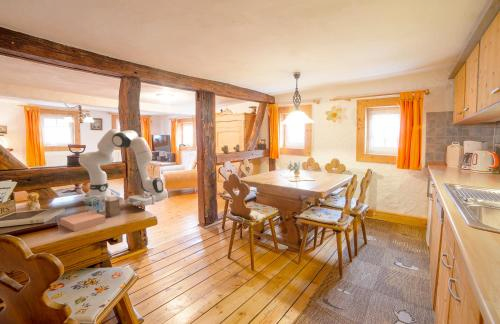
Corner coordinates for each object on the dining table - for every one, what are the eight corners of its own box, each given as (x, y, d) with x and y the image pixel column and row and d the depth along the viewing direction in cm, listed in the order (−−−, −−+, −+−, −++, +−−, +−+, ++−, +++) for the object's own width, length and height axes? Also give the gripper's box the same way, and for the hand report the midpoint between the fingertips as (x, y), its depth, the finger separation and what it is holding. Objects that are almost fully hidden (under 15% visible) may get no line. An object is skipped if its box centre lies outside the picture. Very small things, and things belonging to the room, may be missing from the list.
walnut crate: (105, 215, 153) (104, 200, 152) (115, 213, 158) (114, 198, 157) (110, 217, 150) (109, 202, 149) (120, 214, 155) (119, 199, 154)
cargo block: (106, 200, 152) (106, 195, 152) (113, 198, 156) (113, 194, 156) (110, 201, 150) (109, 196, 150) (117, 199, 154) (116, 195, 153)
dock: (60, 224, 138) (60, 218, 138) (91, 216, 152) (90, 210, 151) (74, 231, 128) (73, 224, 128) (105, 222, 142) (105, 215, 141)
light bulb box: (93, 215, 154) (92, 199, 153) (84, 214, 156) (83, 198, 155) (106, 210, 165) (105, 195, 164) (98, 209, 166) (97, 194, 165)
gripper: (138, 192, 180) (120, 196, 168) (155, 195, 168) (137, 200, 157) (139, 200, 180) (120, 205, 169) (156, 204, 169) (137, 209, 158)
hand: (128, 202), depth 163 cm, fingers open, 8 cm apart
